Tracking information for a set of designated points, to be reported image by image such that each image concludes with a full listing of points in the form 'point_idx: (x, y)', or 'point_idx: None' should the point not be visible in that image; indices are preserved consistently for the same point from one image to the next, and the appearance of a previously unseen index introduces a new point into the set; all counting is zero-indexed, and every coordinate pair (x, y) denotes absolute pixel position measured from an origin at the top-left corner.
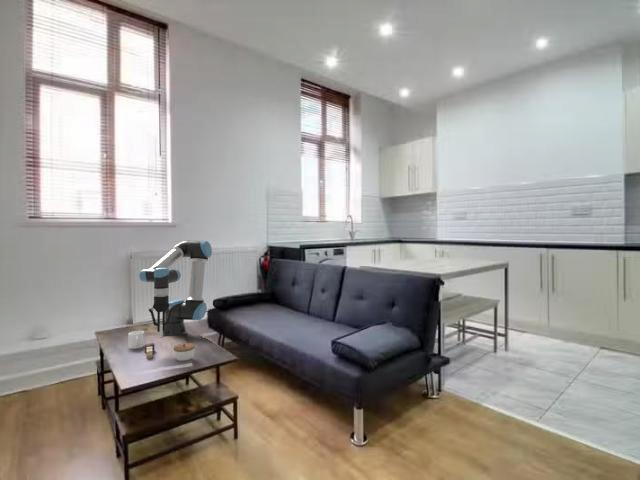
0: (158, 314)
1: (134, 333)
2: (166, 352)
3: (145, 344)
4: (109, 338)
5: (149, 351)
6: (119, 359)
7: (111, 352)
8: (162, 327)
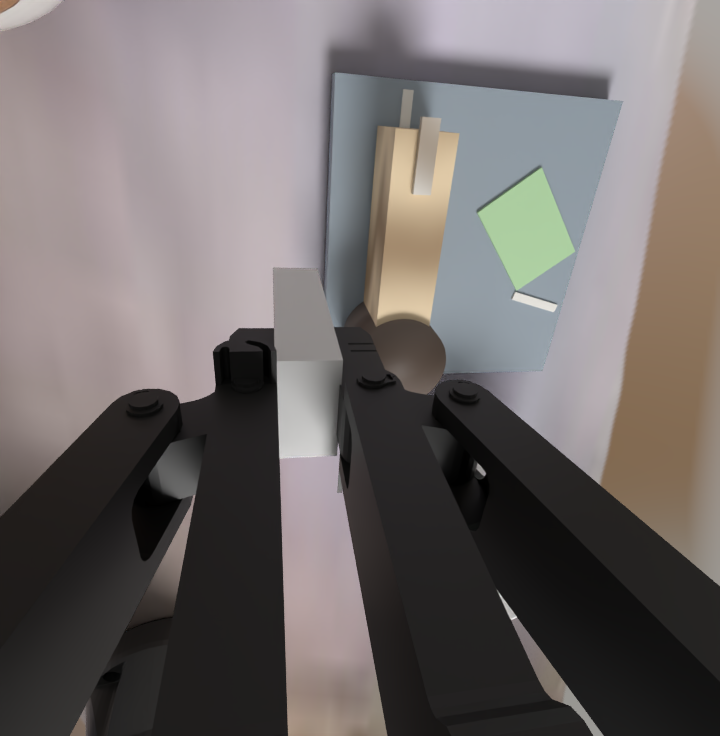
0: (499, 693)
1: (501, 597)
2: (233, 311)
3: (434, 386)
4: (543, 657)
5: (431, 118)
6: (595, 297)
7: (595, 457)
8: (276, 344)
